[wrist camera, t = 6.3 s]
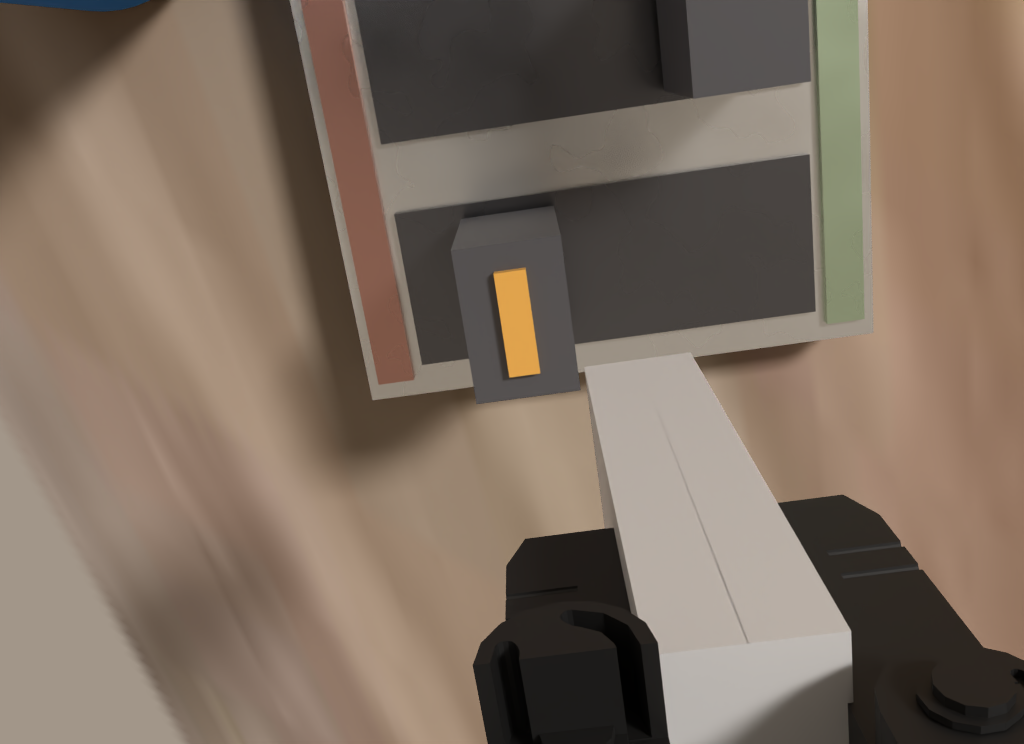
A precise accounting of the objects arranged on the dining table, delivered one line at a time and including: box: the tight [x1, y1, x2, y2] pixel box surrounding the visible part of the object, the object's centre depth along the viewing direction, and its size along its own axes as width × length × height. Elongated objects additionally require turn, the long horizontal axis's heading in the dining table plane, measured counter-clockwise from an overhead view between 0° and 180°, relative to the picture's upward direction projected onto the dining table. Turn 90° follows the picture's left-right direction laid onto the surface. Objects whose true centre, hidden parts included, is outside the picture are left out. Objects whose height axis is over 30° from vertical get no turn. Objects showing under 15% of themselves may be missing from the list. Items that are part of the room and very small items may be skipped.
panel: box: [290, 0, 873, 400], centre depth 24 cm, size 18×14×2 cm
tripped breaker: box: [451, 206, 581, 404], centre depth 22 cm, size 4×2×4 cm, turn 8°
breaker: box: [656, 0, 811, 99], centre depth 20 cm, size 4×2×4 cm, turn 8°
